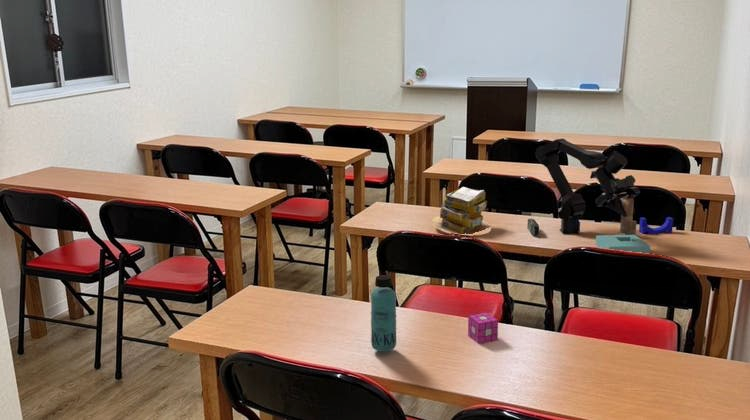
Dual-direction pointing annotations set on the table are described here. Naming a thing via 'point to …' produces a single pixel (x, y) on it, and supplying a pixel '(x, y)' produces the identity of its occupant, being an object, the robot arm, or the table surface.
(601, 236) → the teal hole plate
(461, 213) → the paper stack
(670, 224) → the cable clip
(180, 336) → the table surface
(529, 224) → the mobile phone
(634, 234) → the short walnut pin
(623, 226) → the tall walnut pin
